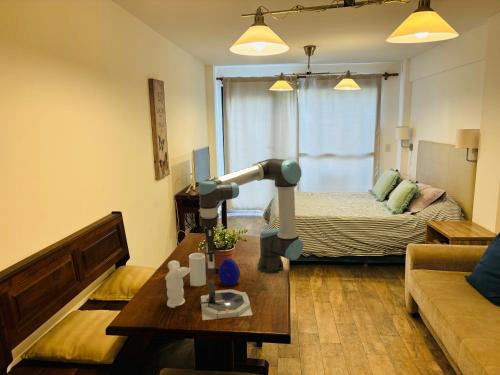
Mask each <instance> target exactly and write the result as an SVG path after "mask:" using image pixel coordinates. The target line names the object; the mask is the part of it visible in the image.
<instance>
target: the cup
mask: <svg viewBox="0 0 500 375" xmlns="http://www.w3.org/2000/svg"><path fill="white" fill-rule="evenodd" d="M205 255H206V254H205V253H203V252H193V253H191V254H189V255H188V262H189V263H188V264H189V267H188V268H191V271H190V272H189V282H190V285H189V286H190V287H202V286H204V285H207V276H206V275H207V274H206V256H205Z"/></svg>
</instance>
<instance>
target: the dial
mask: <svg viewBox="0 0 500 375" xmlns="http://www.w3.org/2000/svg"><path fill="white" fill-rule="evenodd" d="M207 286H208V287H207V288H208V294H209V300H208V307H209V308H212V309H214V310H217V311H226V309H228V310H235V309H237V308H238V307H240V306H241V305H243V301H242V298H241V297H240V296H239V295H237V294H233V293H220V294H216V295H215V291H216V282H215V280H209V281H207Z"/></svg>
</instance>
